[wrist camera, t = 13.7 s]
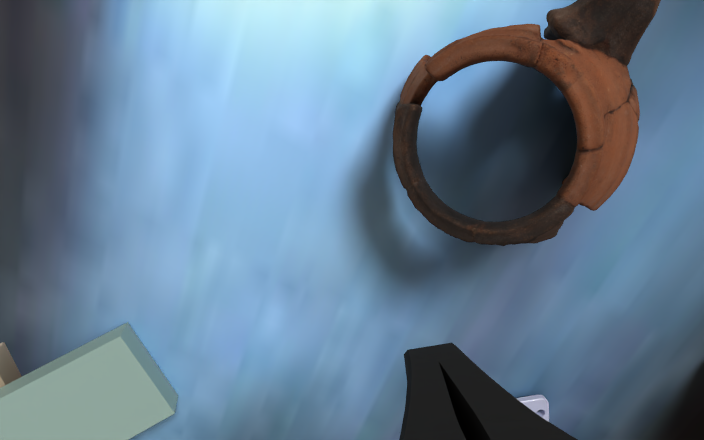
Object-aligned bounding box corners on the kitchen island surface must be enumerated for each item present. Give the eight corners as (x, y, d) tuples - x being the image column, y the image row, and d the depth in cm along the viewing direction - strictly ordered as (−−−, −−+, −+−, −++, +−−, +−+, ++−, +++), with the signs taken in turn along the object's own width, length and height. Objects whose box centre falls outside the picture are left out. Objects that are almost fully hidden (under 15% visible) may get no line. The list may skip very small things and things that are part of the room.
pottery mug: (550, 241, 23) (535, 316, 16) (402, 152, 25) (331, 183, 18) (735, 7, 17) (838, -36, 10) (518, -80, 19) (480, -164, 12)
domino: (174, 413, 22) (18, 501, 21) (177, 395, 23) (32, 476, 22) (120, 336, 20) (-53, 425, 19) (127, 322, 22) (-32, 404, 21)
